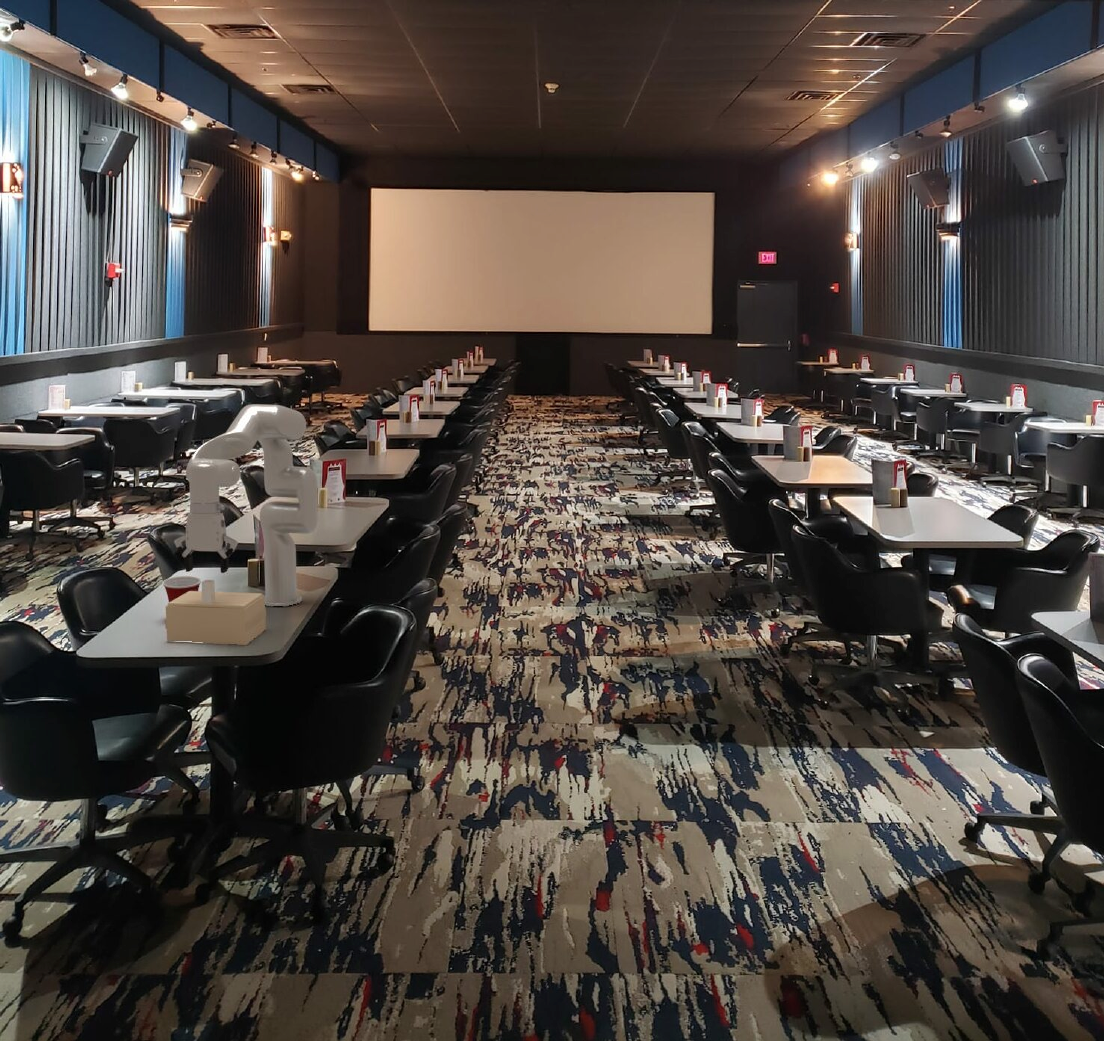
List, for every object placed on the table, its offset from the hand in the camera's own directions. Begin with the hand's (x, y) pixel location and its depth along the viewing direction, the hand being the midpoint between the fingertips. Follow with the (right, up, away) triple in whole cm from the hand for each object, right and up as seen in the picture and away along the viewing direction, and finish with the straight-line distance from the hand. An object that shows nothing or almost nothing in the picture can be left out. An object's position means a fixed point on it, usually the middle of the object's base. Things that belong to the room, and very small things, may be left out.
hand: (206, 571), depth 317 cm
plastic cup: (-14, -16, +25) cm, 33 cm away
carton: (0, -18, +9) cm, 20 cm away
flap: (+1, -8, +7) cm, 11 cm away
